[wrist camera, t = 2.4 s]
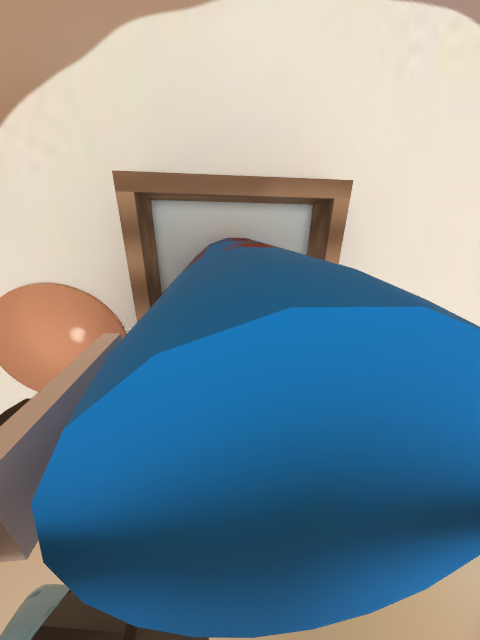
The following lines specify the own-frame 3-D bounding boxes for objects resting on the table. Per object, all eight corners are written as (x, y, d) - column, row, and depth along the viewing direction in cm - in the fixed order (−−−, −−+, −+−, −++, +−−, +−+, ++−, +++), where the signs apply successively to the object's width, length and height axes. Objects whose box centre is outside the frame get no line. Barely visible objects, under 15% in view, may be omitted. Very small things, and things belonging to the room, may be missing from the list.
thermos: (264, 328, 31) (406, 629, 7) (185, 316, 29) (54, 654, 6) (285, 246, 27) (708, 346, 4) (196, 227, 25) (-63, 192, 2)
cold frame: (304, 353, 33) (348, 416, 22) (157, 357, 31) (123, 429, 20) (328, 189, 25) (416, 156, 14) (133, 182, 23) (54, 137, 12)
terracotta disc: (137, 391, 33) (135, 395, 32) (19, 396, 31) (13, 401, 30) (117, 283, 27) (113, 284, 26) (-30, 283, 25) (-40, 285, 24)
